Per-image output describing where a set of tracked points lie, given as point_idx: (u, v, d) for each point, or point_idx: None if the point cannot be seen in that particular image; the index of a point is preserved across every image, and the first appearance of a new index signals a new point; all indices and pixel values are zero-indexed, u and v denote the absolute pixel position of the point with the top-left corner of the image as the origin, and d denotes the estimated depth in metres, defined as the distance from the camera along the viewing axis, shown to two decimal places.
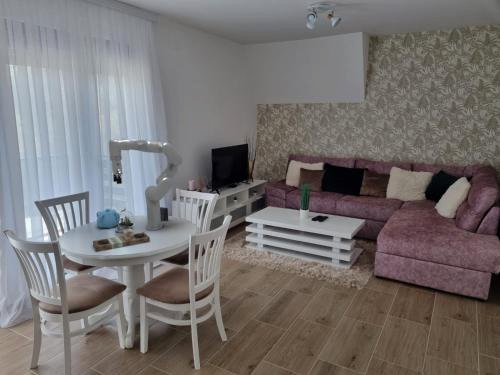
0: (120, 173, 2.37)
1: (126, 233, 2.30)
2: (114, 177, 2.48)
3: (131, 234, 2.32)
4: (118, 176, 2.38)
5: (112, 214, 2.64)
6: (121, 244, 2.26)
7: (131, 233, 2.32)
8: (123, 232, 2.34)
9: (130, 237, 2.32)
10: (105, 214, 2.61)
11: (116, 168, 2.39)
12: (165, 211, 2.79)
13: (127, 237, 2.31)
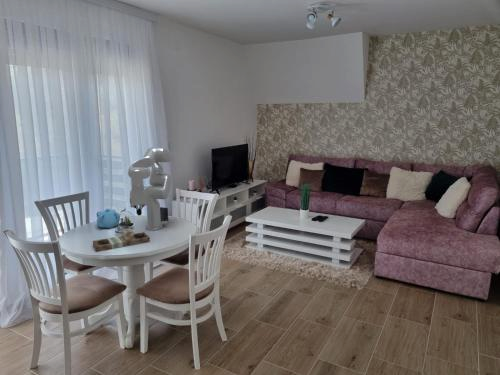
0: (145, 205, 2.37)
1: (126, 233, 2.30)
2: (139, 210, 2.34)
3: (131, 234, 2.32)
4: (143, 206, 2.35)
5: (112, 214, 2.64)
6: (121, 244, 2.26)
7: (131, 233, 2.32)
8: (123, 232, 2.34)
9: (130, 237, 2.32)
10: (105, 214, 2.61)
11: (146, 197, 2.35)
12: (165, 211, 2.79)
13: (127, 237, 2.31)
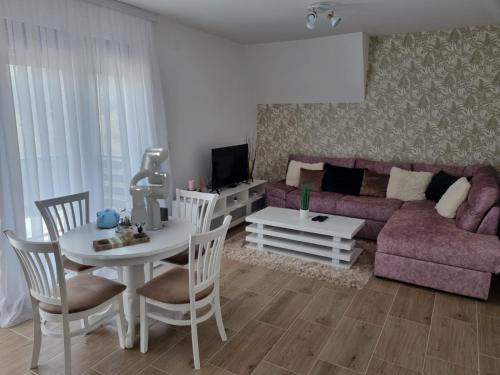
0: (146, 223, 2.40)
1: (126, 233, 2.30)
2: None
3: (131, 234, 2.32)
4: (144, 224, 2.38)
5: (112, 214, 2.64)
6: (121, 244, 2.26)
7: (131, 233, 2.32)
8: (123, 232, 2.34)
9: (130, 237, 2.32)
10: (105, 214, 2.61)
11: (147, 215, 2.37)
12: (165, 211, 2.79)
13: (127, 237, 2.31)
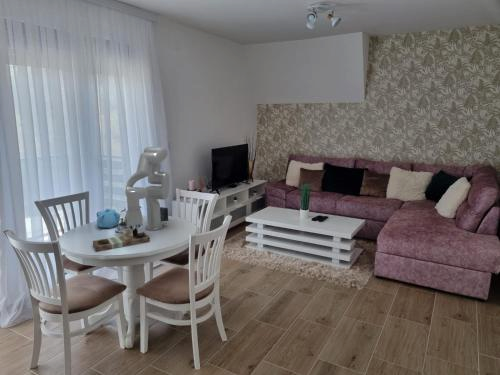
0: (141, 225, 2.38)
1: (125, 233, 2.30)
2: None
3: (130, 234, 2.32)
4: (139, 226, 2.36)
5: (112, 214, 2.64)
6: (121, 244, 2.26)
7: (130, 233, 2.32)
8: (122, 232, 2.34)
9: (129, 237, 2.32)
10: (105, 214, 2.61)
11: None
12: (165, 211, 2.79)
13: (126, 237, 2.31)
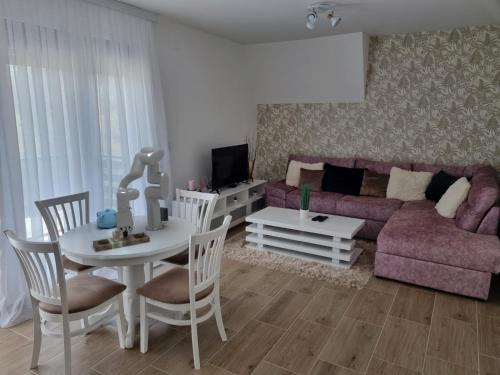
0: (132, 226, 2.35)
1: (115, 235, 2.27)
2: None
3: (120, 236, 2.28)
4: (129, 228, 2.33)
5: (112, 214, 2.64)
6: (121, 244, 2.26)
7: (120, 235, 2.28)
8: (112, 234, 2.31)
9: (119, 239, 2.28)
10: (105, 214, 2.61)
11: (132, 218, 2.33)
12: (165, 211, 2.79)
13: (116, 239, 2.27)
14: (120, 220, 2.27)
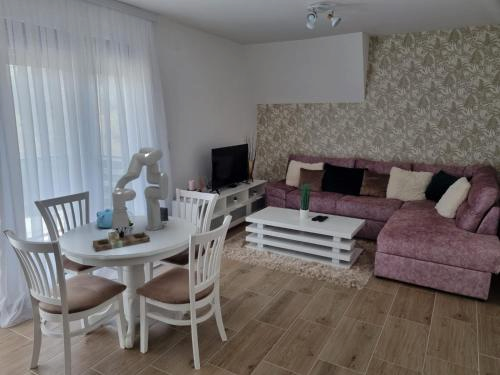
0: None
1: (111, 236, 2.25)
2: None
3: (116, 237, 2.27)
4: (125, 229, 2.32)
5: None
6: (121, 244, 2.26)
7: (116, 236, 2.27)
8: (108, 235, 2.29)
9: (115, 240, 2.27)
10: (105, 214, 2.61)
11: (128, 219, 2.31)
12: (165, 211, 2.79)
13: (112, 240, 2.26)
14: (116, 221, 2.26)
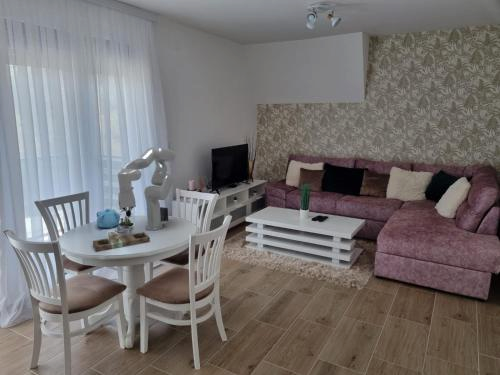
0: (134, 206, 2.40)
1: (111, 236, 2.25)
2: None
3: (116, 237, 2.27)
4: None
5: (112, 214, 2.64)
6: (121, 244, 2.26)
7: (116, 236, 2.27)
8: (108, 235, 2.29)
9: (115, 240, 2.27)
10: (105, 214, 2.61)
11: (134, 198, 2.37)
12: (165, 211, 2.79)
13: (112, 240, 2.26)
14: (123, 200, 2.32)
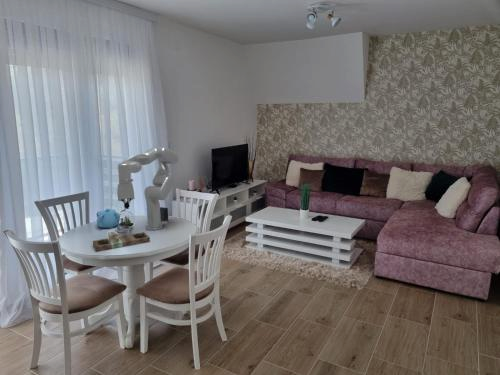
0: (133, 198, 2.40)
1: (111, 236, 2.25)
2: None
3: (116, 237, 2.27)
4: None
5: (112, 214, 2.64)
6: (121, 244, 2.26)
7: (116, 236, 2.27)
8: (108, 235, 2.29)
9: (115, 240, 2.27)
10: (105, 214, 2.61)
11: (133, 190, 2.37)
12: (165, 211, 2.79)
13: (112, 240, 2.26)
14: (121, 192, 2.32)
